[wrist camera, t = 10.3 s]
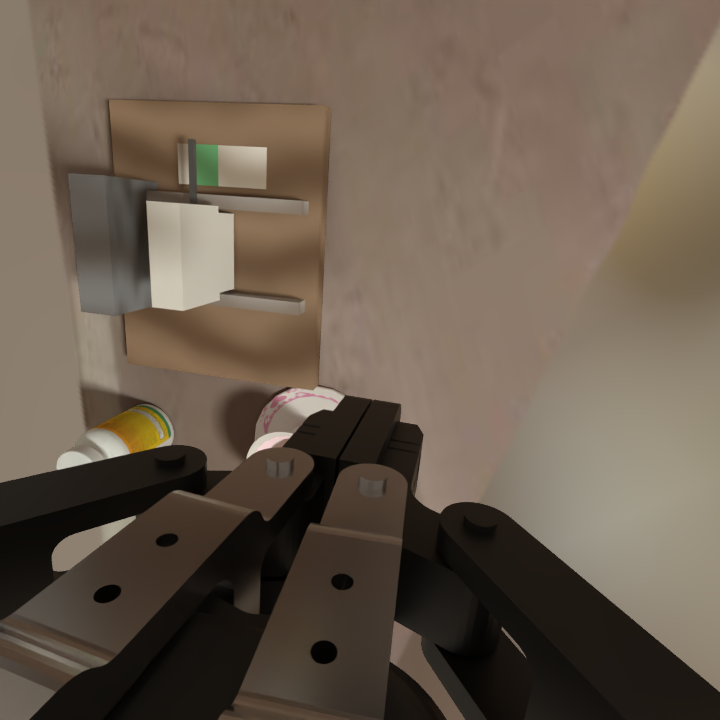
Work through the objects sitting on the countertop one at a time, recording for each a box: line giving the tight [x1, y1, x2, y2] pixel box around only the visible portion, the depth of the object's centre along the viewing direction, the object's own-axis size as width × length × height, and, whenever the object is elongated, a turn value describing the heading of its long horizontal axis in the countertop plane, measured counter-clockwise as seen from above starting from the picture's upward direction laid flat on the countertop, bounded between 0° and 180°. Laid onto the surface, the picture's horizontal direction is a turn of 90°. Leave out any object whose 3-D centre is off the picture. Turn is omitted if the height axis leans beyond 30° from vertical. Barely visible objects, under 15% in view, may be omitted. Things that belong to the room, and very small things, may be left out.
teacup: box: [246, 386, 345, 459], centre depth 41 cm, size 12×12×6 cm
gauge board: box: [68, 100, 331, 390], centre depth 38 cm, size 22×18×8 cm
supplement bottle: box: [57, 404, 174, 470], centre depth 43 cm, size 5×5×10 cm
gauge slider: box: [146, 139, 234, 311], centre depth 35 cm, size 12×4×8 cm, turn 176°
